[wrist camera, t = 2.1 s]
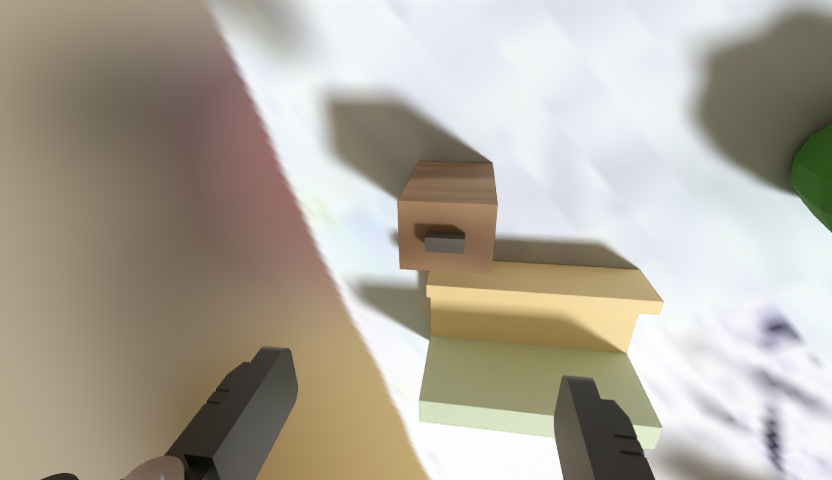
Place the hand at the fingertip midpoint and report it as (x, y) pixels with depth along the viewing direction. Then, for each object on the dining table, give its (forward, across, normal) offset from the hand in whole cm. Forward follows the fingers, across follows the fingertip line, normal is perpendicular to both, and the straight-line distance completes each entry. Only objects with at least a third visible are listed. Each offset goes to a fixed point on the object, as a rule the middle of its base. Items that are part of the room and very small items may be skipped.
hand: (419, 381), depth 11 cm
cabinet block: (+18, 0, 0) cm, 18 cm away
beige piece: (+18, -6, +10) cm, 21 cm away
